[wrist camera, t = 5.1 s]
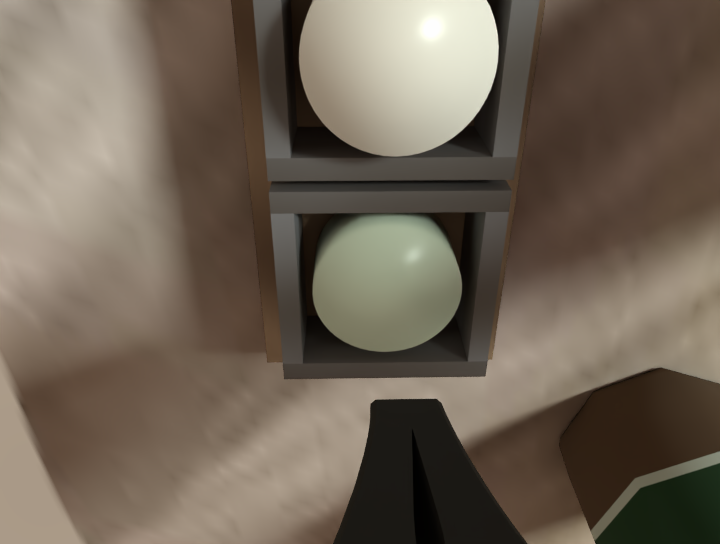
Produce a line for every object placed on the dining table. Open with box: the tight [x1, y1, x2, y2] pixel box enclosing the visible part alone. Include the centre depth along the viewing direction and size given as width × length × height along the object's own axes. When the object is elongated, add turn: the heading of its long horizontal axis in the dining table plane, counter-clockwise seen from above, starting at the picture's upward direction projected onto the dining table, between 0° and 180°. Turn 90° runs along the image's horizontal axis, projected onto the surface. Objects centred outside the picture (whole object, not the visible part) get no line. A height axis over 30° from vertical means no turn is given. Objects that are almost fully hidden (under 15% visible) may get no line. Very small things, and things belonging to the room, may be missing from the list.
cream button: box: [299, 0, 499, 157], centre depth 14 cm, size 4×4×2 cm
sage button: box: [313, 213, 462, 352], centre depth 18 cm, size 4×4×2 cm
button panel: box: [231, 0, 545, 379], centre depth 15 cm, size 22×8×4 cm, turn 0°
